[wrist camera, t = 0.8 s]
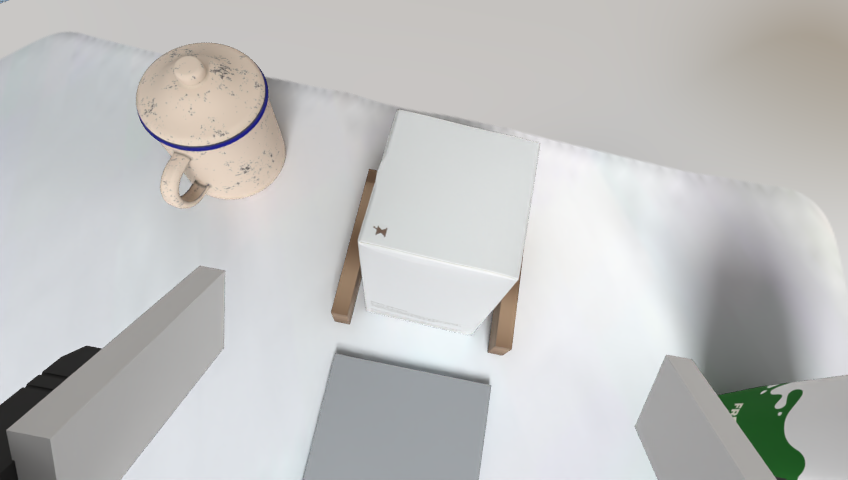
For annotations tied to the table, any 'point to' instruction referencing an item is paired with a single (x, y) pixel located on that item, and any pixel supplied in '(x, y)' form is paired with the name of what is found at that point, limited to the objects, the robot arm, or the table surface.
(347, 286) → the walnut cradle
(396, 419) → the slate mat
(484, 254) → the supplement box
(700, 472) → the robot arm
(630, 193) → the table surface
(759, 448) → the milk carton
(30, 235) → the table surface
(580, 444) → the table surface
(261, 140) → the teacup with lid
